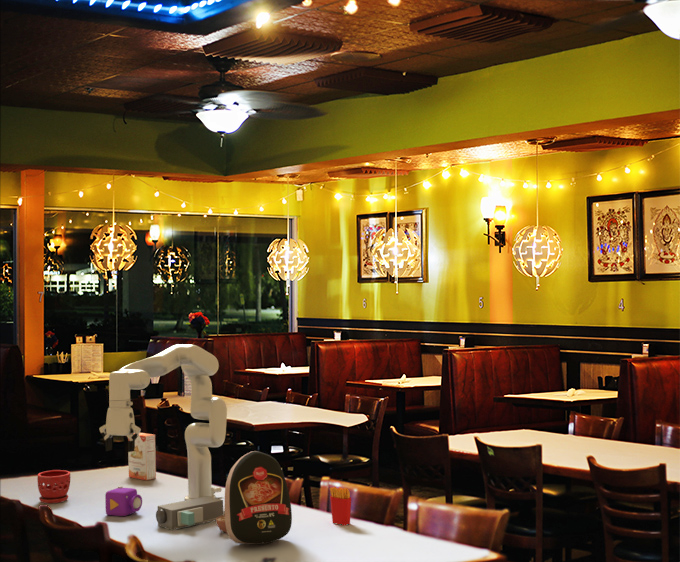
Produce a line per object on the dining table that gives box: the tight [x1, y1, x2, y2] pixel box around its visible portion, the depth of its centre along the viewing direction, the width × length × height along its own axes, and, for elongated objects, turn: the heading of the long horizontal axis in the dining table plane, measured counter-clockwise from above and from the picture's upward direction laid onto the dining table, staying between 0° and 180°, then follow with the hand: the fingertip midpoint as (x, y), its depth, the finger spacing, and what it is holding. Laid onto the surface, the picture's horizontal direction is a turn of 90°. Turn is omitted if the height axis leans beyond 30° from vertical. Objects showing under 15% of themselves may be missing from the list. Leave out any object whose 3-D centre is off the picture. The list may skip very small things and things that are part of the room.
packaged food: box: [224, 450, 293, 545], centre depth 288 cm, size 22×20×30 cm
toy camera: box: [104, 485, 143, 517], centre depth 333 cm, size 11×14×10 cm
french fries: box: [329, 486, 352, 526], centre depth 311 cm, size 9×4×13 cm, turn 47°
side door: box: [177, 507, 203, 526], centre depth 309 cm, size 10×6×5 cm, turn 132°
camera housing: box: [155, 496, 224, 531], centre depth 317 cm, size 24×11×7 cm, turn 132°
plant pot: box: [37, 469, 71, 504], centre depth 358 cm, size 13×13×12 cm
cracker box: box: [127, 432, 157, 481], centre depth 405 cm, size 14×6×21 cm, turn 49°
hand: (120, 450), depth 318 cm, fingers open, 9 cm apart
